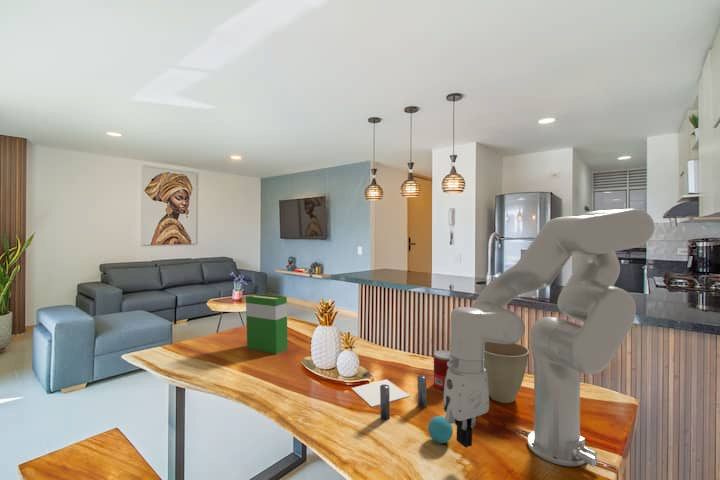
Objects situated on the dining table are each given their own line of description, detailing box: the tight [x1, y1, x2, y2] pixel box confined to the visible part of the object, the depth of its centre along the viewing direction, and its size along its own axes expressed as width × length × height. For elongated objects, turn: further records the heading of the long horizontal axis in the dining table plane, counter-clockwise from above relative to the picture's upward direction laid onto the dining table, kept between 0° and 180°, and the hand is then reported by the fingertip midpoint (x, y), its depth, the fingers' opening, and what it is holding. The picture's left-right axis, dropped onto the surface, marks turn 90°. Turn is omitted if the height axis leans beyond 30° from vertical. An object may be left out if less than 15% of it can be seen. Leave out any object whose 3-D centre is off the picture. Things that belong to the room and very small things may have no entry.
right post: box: [417, 374, 428, 409], centre depth 104 cm, size 3×3×9 cm
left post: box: [379, 384, 391, 421], centre depth 98 cm, size 3×3×9 cm
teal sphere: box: [428, 415, 454, 444], centre depth 87 cm, size 6×6×6 cm
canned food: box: [433, 349, 450, 391], centre depth 117 cm, size 8×8×11 cm
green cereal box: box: [245, 293, 289, 355], centre depth 158 cm, size 18×7×24 cm, turn 62°
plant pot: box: [484, 342, 530, 404], centre depth 109 cm, size 15×15×16 cm
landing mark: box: [351, 379, 411, 408], centre depth 114 cm, size 14×14×1 cm
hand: (464, 443), depth 78 cm, fingers closed
